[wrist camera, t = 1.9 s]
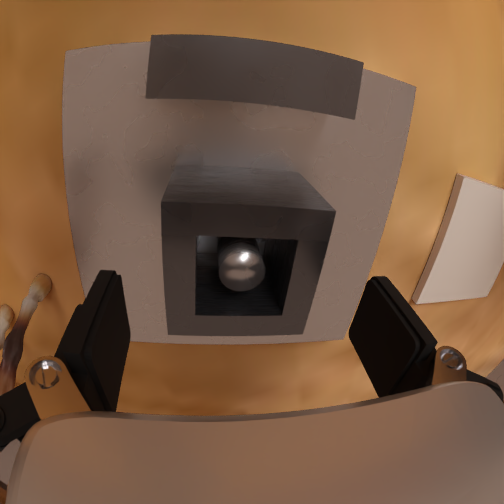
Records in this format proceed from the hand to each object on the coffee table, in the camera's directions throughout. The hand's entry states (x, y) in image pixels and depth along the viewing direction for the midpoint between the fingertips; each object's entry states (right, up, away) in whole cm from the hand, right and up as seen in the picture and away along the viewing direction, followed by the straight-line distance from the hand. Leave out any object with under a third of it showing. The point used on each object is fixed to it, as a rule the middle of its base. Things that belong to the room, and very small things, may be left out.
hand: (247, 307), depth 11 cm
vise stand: (-1, +4, +6) cm, 7 cm away
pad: (+20, +3, +10) cm, 22 cm away
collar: (-1, +3, +5) cm, 6 cm away
